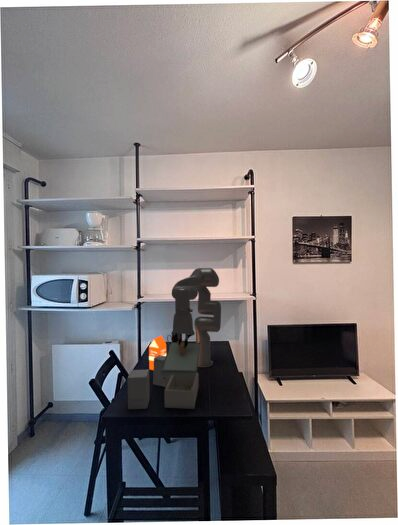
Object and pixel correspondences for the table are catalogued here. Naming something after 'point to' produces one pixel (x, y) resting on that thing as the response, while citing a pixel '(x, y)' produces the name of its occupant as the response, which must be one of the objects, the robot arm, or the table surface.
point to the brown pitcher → (173, 338)
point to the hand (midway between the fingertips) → (183, 346)
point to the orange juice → (156, 350)
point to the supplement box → (138, 389)
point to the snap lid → (181, 359)
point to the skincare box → (159, 372)
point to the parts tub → (181, 391)
